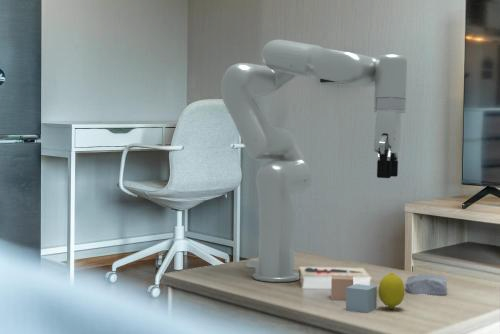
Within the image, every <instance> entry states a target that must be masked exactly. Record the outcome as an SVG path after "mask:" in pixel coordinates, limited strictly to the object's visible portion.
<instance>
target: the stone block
mask: <svg viewBox="0 0 500 334" xmlns="http://www.w3.org/2000/svg"><path fill="white" fill-rule="evenodd" d="M404 286H405V288H406V292H407V291H408V292H407V293H409V292H410V293H409V294H411V293H412V294H411V295H418V294H425V295H424V296H446V295H447V278H446V275H436V274H429V273H425V274H424V273H423V274H418V275H411V276H408V278H407V279H406V280H405V284H404ZM426 294H427V295H426Z"/></svg>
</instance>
